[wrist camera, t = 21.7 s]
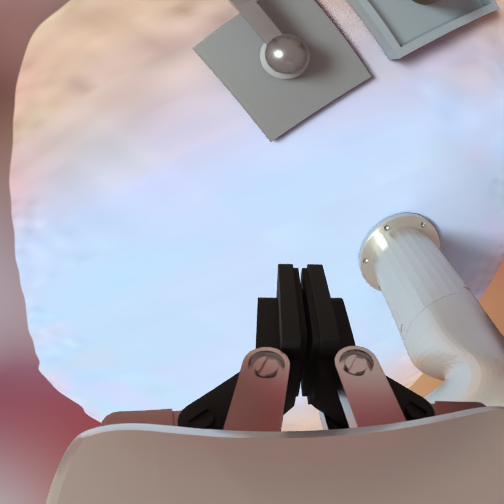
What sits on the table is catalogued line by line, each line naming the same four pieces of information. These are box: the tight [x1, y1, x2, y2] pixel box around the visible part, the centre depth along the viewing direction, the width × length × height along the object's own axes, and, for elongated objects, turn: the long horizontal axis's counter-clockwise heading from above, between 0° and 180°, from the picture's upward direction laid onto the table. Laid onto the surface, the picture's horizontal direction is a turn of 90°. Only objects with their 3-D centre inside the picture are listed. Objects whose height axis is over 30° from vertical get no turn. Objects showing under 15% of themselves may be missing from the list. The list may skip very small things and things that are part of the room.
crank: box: [228, 0, 308, 74], centre depth 23 cm, size 14×5×5 cm, turn 36°
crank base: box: [192, 0, 371, 142], centre depth 29 cm, size 14×14×3 cm
